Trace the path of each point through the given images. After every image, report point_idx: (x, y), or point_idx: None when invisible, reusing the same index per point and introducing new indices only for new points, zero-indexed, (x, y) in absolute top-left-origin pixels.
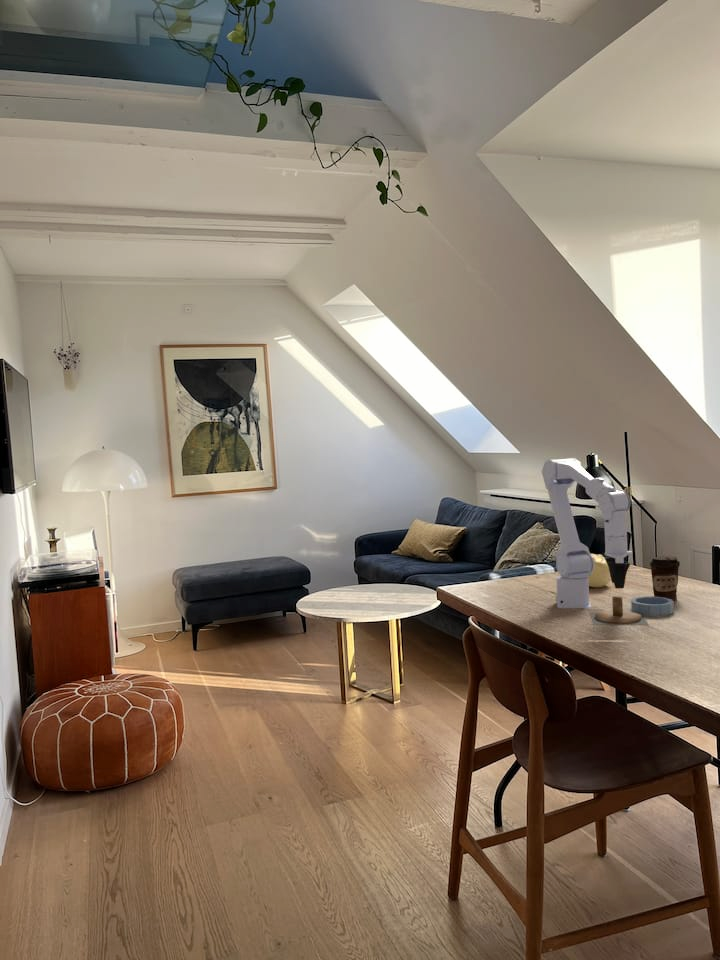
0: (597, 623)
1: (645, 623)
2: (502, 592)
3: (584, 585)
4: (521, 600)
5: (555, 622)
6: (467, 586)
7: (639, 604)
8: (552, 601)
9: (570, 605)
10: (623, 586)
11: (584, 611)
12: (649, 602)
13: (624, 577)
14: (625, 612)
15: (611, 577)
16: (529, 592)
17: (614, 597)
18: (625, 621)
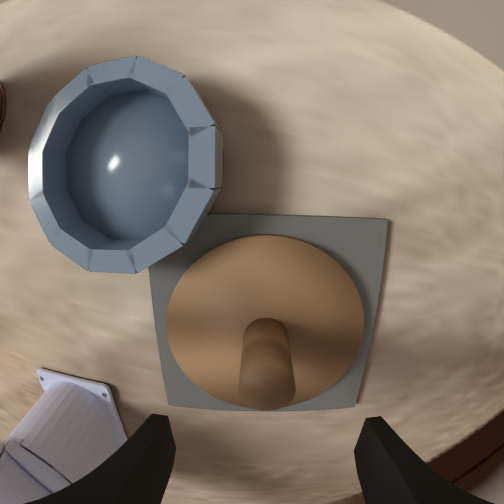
0: (342, 397)
1: (362, 229)
2: None
3: (67, 450)
4: None
5: (289, 472)
6: None
7: (186, 240)
8: None
9: (114, 436)
10: (387, 424)
11: (140, 406)
12: (57, 172)
13: (426, 468)
14: (208, 299)
15: (167, 479)
16: None
17: (272, 403)
18: (362, 314)
